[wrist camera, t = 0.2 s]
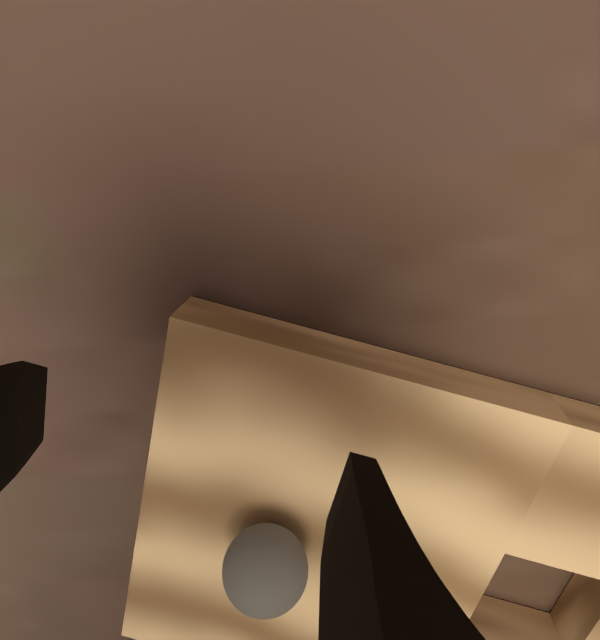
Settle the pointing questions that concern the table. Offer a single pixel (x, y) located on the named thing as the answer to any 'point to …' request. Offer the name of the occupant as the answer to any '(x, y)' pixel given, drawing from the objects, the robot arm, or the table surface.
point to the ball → (265, 571)
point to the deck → (328, 464)
